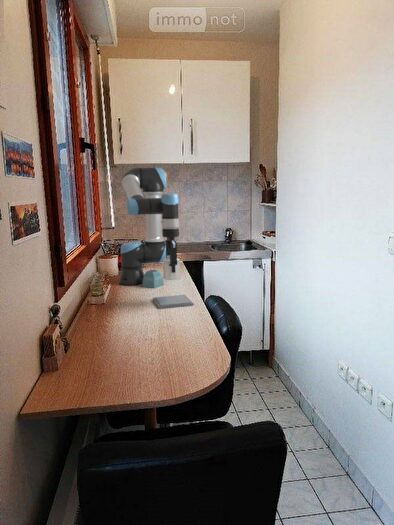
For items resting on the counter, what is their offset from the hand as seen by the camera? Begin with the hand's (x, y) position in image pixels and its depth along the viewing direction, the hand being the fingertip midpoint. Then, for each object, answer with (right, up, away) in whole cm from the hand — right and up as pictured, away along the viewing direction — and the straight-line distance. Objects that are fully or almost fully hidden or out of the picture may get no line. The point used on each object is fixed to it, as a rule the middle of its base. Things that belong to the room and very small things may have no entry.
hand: (171, 277), depth 175 cm
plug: (0, 0, 0) cm, 0 cm away
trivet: (0, -12, +2) cm, 12 cm away
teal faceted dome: (-13, +3, +33) cm, 35 cm away
